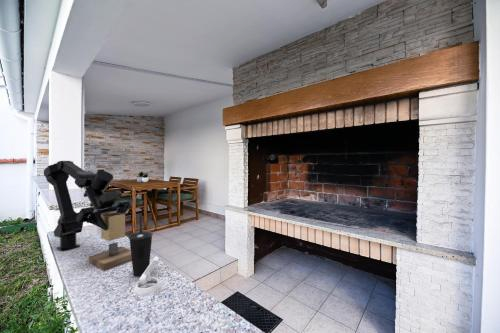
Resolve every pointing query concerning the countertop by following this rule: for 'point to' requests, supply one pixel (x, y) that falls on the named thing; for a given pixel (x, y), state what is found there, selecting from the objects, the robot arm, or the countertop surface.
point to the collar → (113, 226)
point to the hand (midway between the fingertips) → (115, 227)
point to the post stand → (111, 257)
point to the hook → (148, 280)
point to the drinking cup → (140, 250)
